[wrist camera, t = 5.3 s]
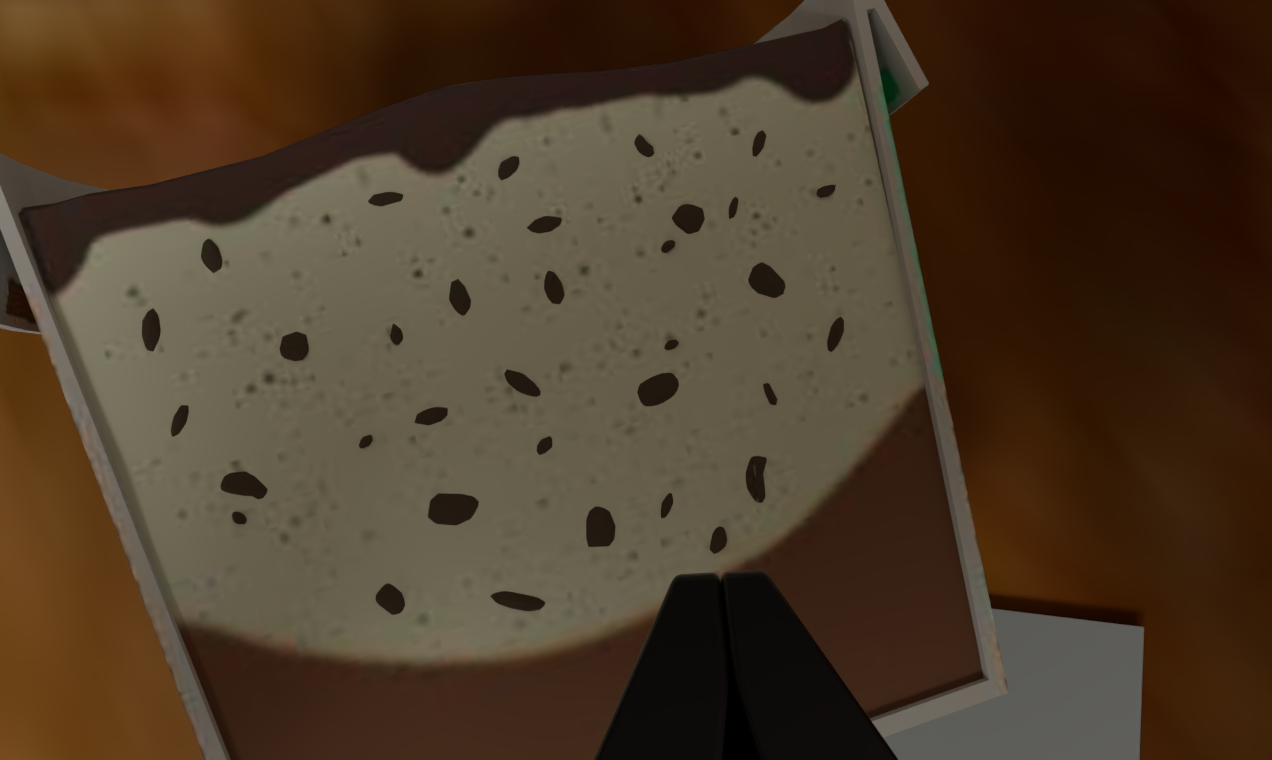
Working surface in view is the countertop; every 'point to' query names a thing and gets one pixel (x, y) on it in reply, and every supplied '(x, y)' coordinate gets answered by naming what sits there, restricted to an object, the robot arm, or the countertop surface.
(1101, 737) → the slate mat
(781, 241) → the food container
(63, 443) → the countertop surface
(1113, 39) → the countertop surface
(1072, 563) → the countertop surface
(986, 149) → the countertop surface
